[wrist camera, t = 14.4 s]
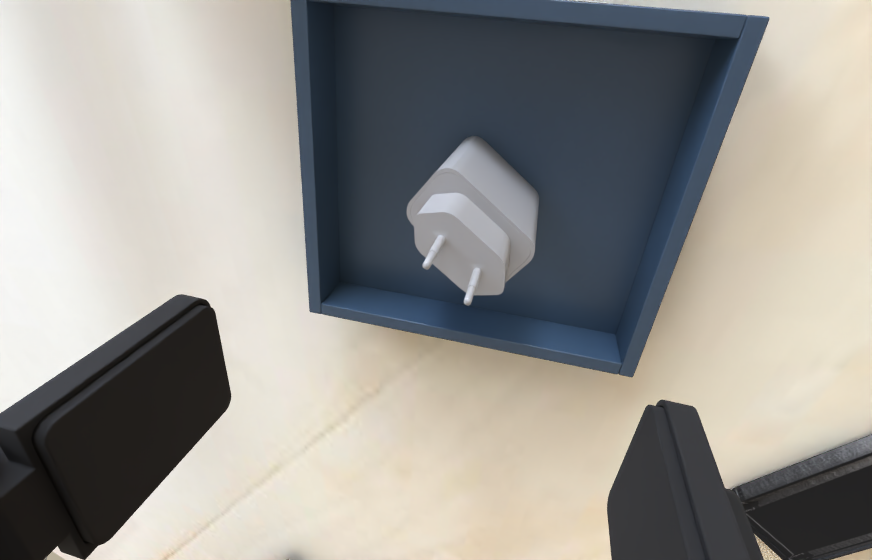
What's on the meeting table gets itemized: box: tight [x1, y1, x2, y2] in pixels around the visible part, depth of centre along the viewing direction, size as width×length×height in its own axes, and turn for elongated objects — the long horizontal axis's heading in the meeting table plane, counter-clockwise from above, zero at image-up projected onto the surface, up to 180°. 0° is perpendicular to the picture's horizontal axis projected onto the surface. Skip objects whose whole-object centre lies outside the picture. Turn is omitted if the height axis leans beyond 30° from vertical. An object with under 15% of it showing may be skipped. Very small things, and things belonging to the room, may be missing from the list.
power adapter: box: [407, 136, 539, 306], centre depth 20 cm, size 3×5×12 cm, turn 49°
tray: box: [291, 0, 769, 377], centre depth 24 cm, size 20×18×4 cm
